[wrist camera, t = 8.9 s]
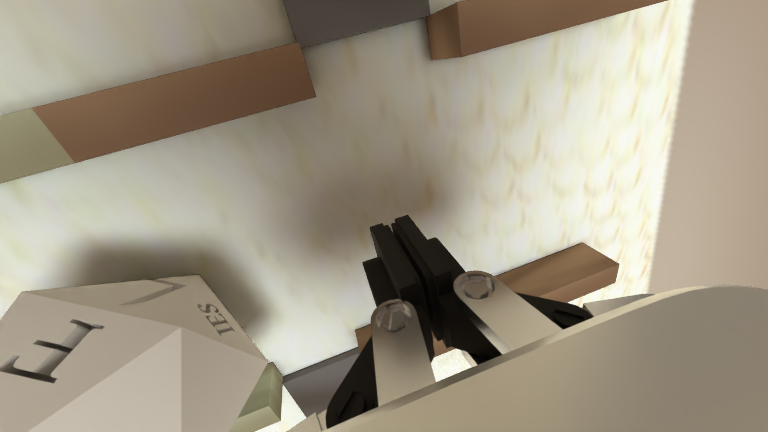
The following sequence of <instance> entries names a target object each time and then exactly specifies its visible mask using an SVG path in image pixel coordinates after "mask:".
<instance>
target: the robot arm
mask: <svg viewBox="0 0 768 432" xmlns="http://www.w3.org/2000/svg"><path fill="white" fill-rule="evenodd" d="M391 225H392V230H393V232H392V231H391V229H390V227H389V226H388V225H386V226H384V225H383V224H382V223H381V224H378V225H375V226H372V227H370V231H371V235H372V238H373V242H374V245H375V249H376V253H377V256H378V257H376V258H373V259H370V260H367V261H365V262H362V263H363V266H364V270H365V273H366V276H367V279H368V282H369V285H370V288H371V291H372V294H373V297H374V300H375V303H376V306H377V308H376V309H375V310H374V312H373V314H372V316H371V331H372V335H371V337H370V339H369V340H368V342H367V343H366V345H365V347H364V348H363V350H362V351H361V353H360V354H359V356H358V358H357V359H356V361H355V362H354V364H353V365H352V367H351V369H350V370H349V372H348V373H347V375H346V377H345V378H344V380H343V381H342V383H341V384H340V386H339V388H338V389H337V391H336V392H335V394H334V395H333V397H332V399H331V401H330V403H329V405H328V407H327V409H326V410H325V411H323V412H322V413H320V414H319V415H317V414H316V413H313V414H312V415H310V416H309V417H308V418H306V419H305V420H303V421H302V422H300V423H299V424H297V425H296V426H294V427H293V428H291V429H290V430H288V431H287V432H768V290H767V289H762V288H757V287H752V286H742V285H704V286H695V287H688V288H681V289H676V290H672V291H667V292H664V293H659V294H656V295H655V294H639V295H633V296H627V297H621V298H615V299H609V300H602V301H596V302H590V303H584V304H583V307H582V308H580V307H578V306H576V305H573V304H569V303H565V302H560V301H555V300H550V299H545V298H541V297H536V296H531V295H526V294H521V293H516V292H513V291H512V290H511V289H510V288H508V287H507V286H506V285H504V284H503V283H502V282H500V281H499V280H498V279H497V278H495V277H494V276H492V275H491V274H489V273H486V272H483V271H468V272H465V270H464V269H463V268H462V267H461V266H460V264H459V263H458V262H457V261H456V260H455V259H454V257H453V256H452V255H451V254H450V253H449V252H448V250H447V249H446V248H445V247H444V246H443V244H442V243H441V242H440V241H439V240H438V239H437V238H432V239H429V240H427V239H426V237H425V236H424V235H423V234H422V232H421V231H420V230H419V228H418V227H417V226H416V225H415V223H414V222H413V221H412V220H411V218H410V217H409V216H408V215H405V216H402V217H399V218H396V219H395V223H392V224H391ZM431 330H432V331H431ZM432 332H433V334H434V336H435V338H436V340H437V341H441V340H442V341H443V343H444V344H445V346H446V348H449V347H454V348H457V349H460V350H462V354H463V356H464V357H465V359H466V360H467V361H468V363H469V364H470V365H471V366H472V368H469V369H467V370H465V371H462V372H460V373H457V374H455V375H453V376H450V377H448V378H445V379H443V380H441V381H438V382H436V381H435V377H434V374H433V370H432V367H431V362H432V360H433V357H434V355H435V351H434V346H433V343H434V341H433V336H432Z"/></svg>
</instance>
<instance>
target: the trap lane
mask: <svg viewBox="0 0 768 432" xmlns="http://www.w3.org/2000/svg"><path fill="white" fill-rule="evenodd" d="M663 1H667V0H465V1H461V2H457V3H455V4H453V5H451V6H449V7H447V8H444V9H442V10H440V11H438V12H436V13H434V14H432V15H430V10H429V1H428V0H283V2H284V5H285V8H286V11H287V14H288V17H289V20H290V23H291V26H292V30H293V33H294V36H295V39H296V43H292V44H288V45H284V46H280V47H276V48H272V49H268V50H263V51H259V52H255V53H251V54H247V55H243V56H239V57H235V58H231V59H227V60H223V61H219V62H215V63H211V64H207V65H203V66H199V67H195V68H191V69H187V70H183V71H179V72H175V73H171V74H167V75H163V76H159V77H155V78H151V79H147V80H143V81H138V82H134V83H130V84H126V85H122V86H118V87H114V88H110V89H106V90H102V91H98V92H94V93H90V94H86V95H82V96H78V97H74V98H70V99H66V100H62V101H58V102H54V103H50V104H46V105H42V106H38V107H34V108H30V109H26V110H22V111H18V112H13V113H9V114H5V115H1V116H0V183H4V182H8V181H11V180H15V179H19V178H22V177H26V176H30V175H33V174H37V173H41V172H44V171H48V170H51V169H55V168H59V167H62V166H66V165H70V164H73V163H77V162H81V161H84V160H88V159H92V158H95V157H99V156H102V155H106V154H110V153H113V152H117V151H121V150H124V149H128V148H132V147H135V146H139V145H143V144H146V143H150V142H153V141H157V140H161V139H164V138H168V137H172V136H175V135H179V134H183V133H186V132H190V131H194V130H197V129H201V128H204V127H208V126H212V125H215V124H219V123H223V122H226V121H230V120H234V119H237V118H241V117H245V116H248V115H252V114H255V113H259V112H263V111H266V110H270V109H274V108H277V107H281V106H285V105H288V104H292V103H296V102H299V101H303V100H306V99H310V98H314V97H316V94H315V91H314V88H313V85H312V82H311V79H310V75H309V72H308V69H307V66H306V63H305V60H304V57H303V54H302V51H301V48H305V47H309V46H313V45H317V44H321V43H325V42H329V41H333V40H337V39H341V38H345V37H349V36H353V35H357V34H361V33H365V32H369V31H373V30H377V29H381V28H385V27H389V26H393V25H397V24H401V23H405V22H409V21H413V20H417V19H421V18H424V17H426V21H427V29H428V36H429V44H430V52H431V60H440V59H448V58H456V57H463V56H467V55H470V54H474V53H478V52H481V51H485V50H489V49H492V48H496V47H500V46H503V45H507V44H510V43H514V42H518V41H521V40H525V39H529V38H532V37H536V36H540V35H543V34H547V33H551V32H554V31H558V30H561V29H565V28H569V27H572V26H576V25H580V24H583V23H587V22H591V21H594V20H598V19H602V18H605V17H609V16H612V15H616V14H620V13H623V12H627V11H631V10H634V9H638V8H642V7H645V6H649V5H653V4H656V3H660V2H663ZM618 268H619V264H618V263H617V262H615V261H613V260H612V259H610V258H608V257H607V256H605V255H603V254H601V253H600V252H598V251H596V250H595V249H593V248H591V247H589V246H588V245H586V244H584V243H581V244H578V245H576V246H573V247H570V248H568V249H565V250H563V251H560V252H558V253H555V254H552V255H550V256H547V257H545V258H542V259H539V260H537V261H534V262H532V263H529V264H526V265H524V266H521V267H519V268H516V269H513V270H511V271H508V272H506V273H503V274H500V275H498V276H495V278H497V279H498V280H499V281H500V282H502V283H503V284H504V285H506V286H507V287H508V288H510V289H511V290H512V291H513V292H516V293H521V294H526V295H531V296H536V297H541V298H545V299H550V300H555V301H560V302H565V303H567V302H569V301H572V300H574V299H577V298H579V297H582V296H584V295H586V294H589V293H591V292H594V291H596V290H599V289H601V288H603V287H606V286H608V285H611V284H613V283H615V281H616V277H617V273H618ZM431 331H432V330H431ZM355 332H356V337H357V341H358V346H359V347H358V348H356V349H353V350H351V351H348V352H346V353H343V354H341V355H338V356H336V357H333V358H330V359H328V360H325V361H323V362H320V363H318V364H315V365H313V366H310V367H308V368H305V369H303V370H300V371H297V372H295V373H292V374H290V375H287V376H285V377H283V376H282V375H281V374H280V372H279V371H278V369H277V368H276V366H275V365H274V363H273V362H272V363H270V364H267V365H266V367H265V369H264V371H263V372H262V374H261V376H260V378H259V380H258V381H257V383H256V385H255V387H254V389H253V391H252V392H251V394H250V396H249V398H248V400H247V401H246V403H245V405H244V407H243V409H242V410H241V412H240V414H239V416H238V418H237V419H236V421H235V423H234V425H233V427H232V428H231V430H230V432H254V431H257V430H259V429H262V428H264V427H267V426H269V425H271V424H274V423H276V422H279V421H281V404H282V386H283V385H284V386H285V387H286V389H287V390H288V392H289V393H290V395H291V396H292V397H293V399H294V400H295V402H296V403H297V405H298V406H299V407H300V409H301V410H302V412H303V413H304V415H305V416H306V417H307V418H308V417H309V416H310V415H312V414H313V413H316V414H317V415H319V414H320V413H322V412H323V411H325V410H326V409H327V407H328V405H329V403H330V401H331V399H332V397H333V395H334V394H335V392H336V391H337V389H338V388H339V386H340V384H341V383H342V381H343V380H344V378H345V377H346V375H347V373H348V372H349V370H350V369H351V367H352V365H353V364H354V362H355V361H356V359H357V358H358V356H359V354H360V353H361V351H362V350H363V348H364V347H365V345H366V343H367V342H368V340H369V339H370V337H371V335H372V331H371V325H368V326H366V327H363V328H360V329H358V330H355ZM432 336H433V341H434V343H433V346H434V351H435V355H434V357H436V356H439V355H441V354H443V353H446V352H448V351H451V350H453V349H456V348H454V347H449V348H446V346H445V344H444V343H443V341H442V340H441V341H437V340H436V338H435V336H434V334H433V332H432ZM434 357H433V358H434Z"/></svg>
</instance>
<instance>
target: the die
mask: <svg viewBox="0 0 768 432" xmlns="http://www.w3.org/2000/svg"><path fill="white" fill-rule="evenodd" d="M267 363H268V360H267V359H266V358H265V357H264V355H263V354H262V353H261V352H260V350H259V349H258V348H257V347H256V345H255V344H254V343H253V342H252V340H251V339H250V338H249V337H248V335H247V334H246V333H245V332H244V330H243V329H242V328H241V327H240V325H239V324H238V323H237V322H236V320H235V319H234V318H233V317H232V315H231V314H230V313H229V312H228V310H227V309H226V308H225V307H224V305H223V304H222V303H221V302H220V300H219V299H218V298H217V297H216V295H215V294H214V293H213V292H212V290H211V289H210V288H209V287H208V285H207V284H206V283H205V282H204V280H203V279H202V278H201V277H200V275H190V276H180V277H169V278H159V279H155V280H152V281H150V280H139V281H128V282H118V283H108V284H97V285H87V286H77V287H66V288H56V289H46V290H35V291H25V292H21V293H20V295H19V296H18V297H17V299H16V300H15V301H14V303H13V304H12V305H11V307H10V308H9V309H8V311H7V312H6V313H5V315H4V316H3V317H2V319H1V320H0V432H230V430H231V428H232V427H233V425H234V423H235V421H236V419H237V418H238V416H239V414H240V412H241V410H242V409H243V407H244V405H245V403H246V401H247V400H248V398H249V396H250V394H251V392H252V391H253V389H254V387H255V385H256V383H257V381H258V380H259V378H260V376H261V374H262V372H263V371H264V369H265V367H266V365H267Z"/></svg>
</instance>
